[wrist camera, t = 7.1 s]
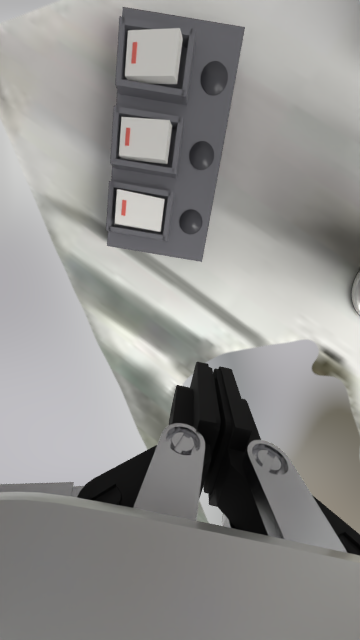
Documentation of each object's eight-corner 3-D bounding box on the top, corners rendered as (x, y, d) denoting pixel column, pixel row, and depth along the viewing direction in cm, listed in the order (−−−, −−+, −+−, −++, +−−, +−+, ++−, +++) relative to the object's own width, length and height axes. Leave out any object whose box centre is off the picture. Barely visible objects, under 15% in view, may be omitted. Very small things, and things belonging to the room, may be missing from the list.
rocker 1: (182, 38, 25) (179, 26, 23) (177, 83, 26) (173, 74, 25) (132, 40, 26) (127, 29, 25) (129, 83, 27) (124, 75, 26)
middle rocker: (172, 126, 27) (169, 119, 26) (167, 164, 28) (164, 159, 27) (126, 122, 28) (121, 116, 27) (123, 159, 29) (118, 154, 28)
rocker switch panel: (237, 57, 29) (248, 12, 24) (200, 261, 36) (202, 262, 31) (131, 39, 29) (118, -10, 24) (115, 246, 36) (102, 245, 31)
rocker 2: (163, 200, 30) (164, 199, 29) (159, 232, 31) (160, 231, 30) (118, 191, 29) (117, 188, 28) (115, 224, 30) (114, 223, 29)
